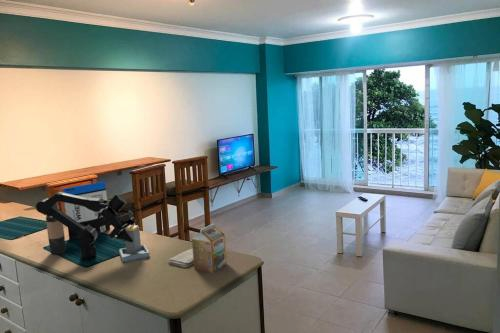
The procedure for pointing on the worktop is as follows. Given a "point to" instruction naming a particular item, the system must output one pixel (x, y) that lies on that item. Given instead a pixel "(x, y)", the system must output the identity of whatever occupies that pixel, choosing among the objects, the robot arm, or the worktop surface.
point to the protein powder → (84, 214)
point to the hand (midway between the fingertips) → (135, 239)
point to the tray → (130, 257)
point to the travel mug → (55, 235)
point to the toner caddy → (135, 236)
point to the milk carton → (209, 249)
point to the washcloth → (183, 259)
